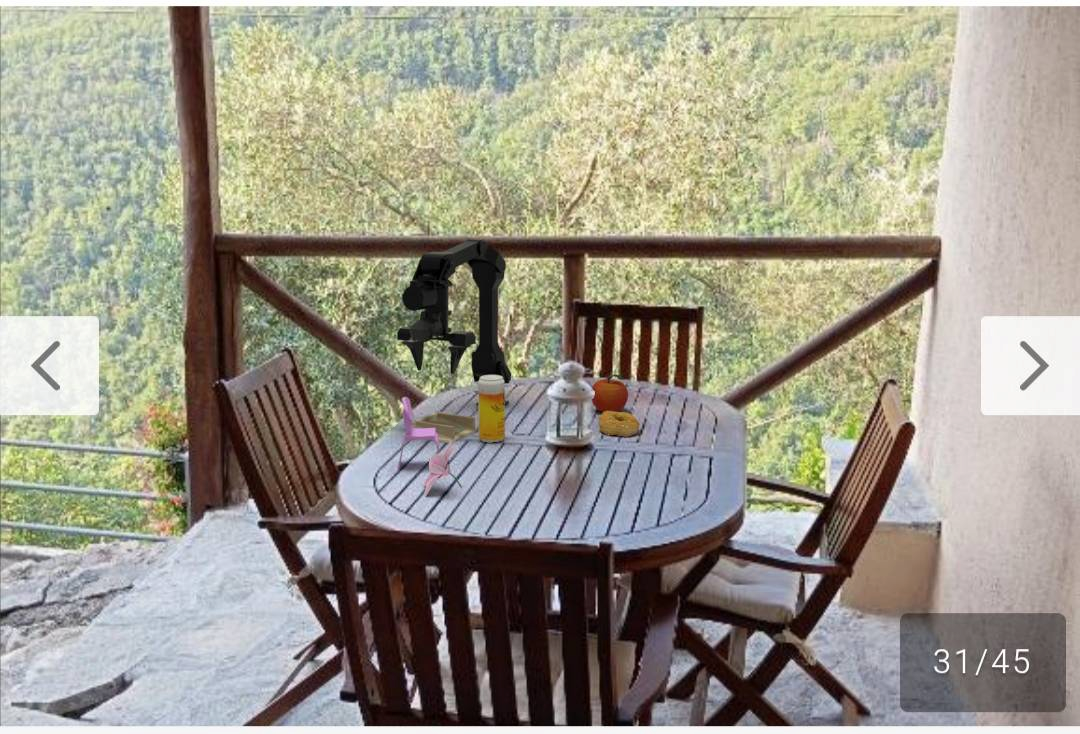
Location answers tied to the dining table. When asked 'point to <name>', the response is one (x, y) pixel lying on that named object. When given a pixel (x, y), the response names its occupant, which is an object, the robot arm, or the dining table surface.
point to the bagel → (618, 423)
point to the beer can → (491, 408)
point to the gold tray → (447, 425)
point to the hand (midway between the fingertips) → (435, 372)
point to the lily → (439, 467)
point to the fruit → (610, 394)
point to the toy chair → (413, 432)
